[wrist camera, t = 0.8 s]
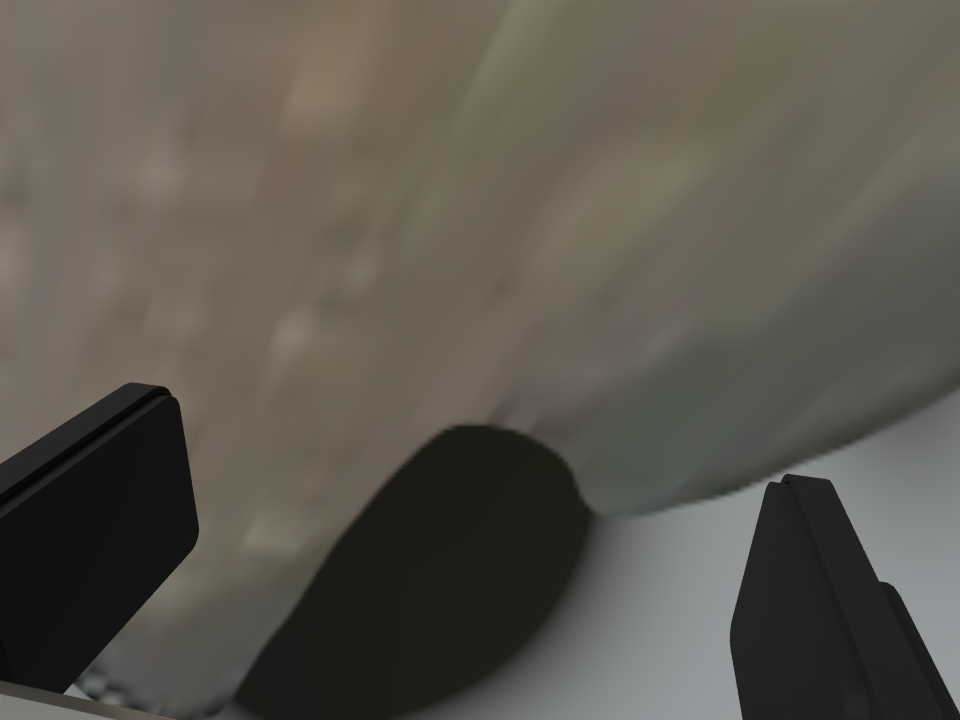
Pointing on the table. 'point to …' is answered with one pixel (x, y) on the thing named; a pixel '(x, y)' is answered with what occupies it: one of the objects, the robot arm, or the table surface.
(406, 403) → the table surface
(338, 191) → the table surface
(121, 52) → the table surface
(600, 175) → the table surface
